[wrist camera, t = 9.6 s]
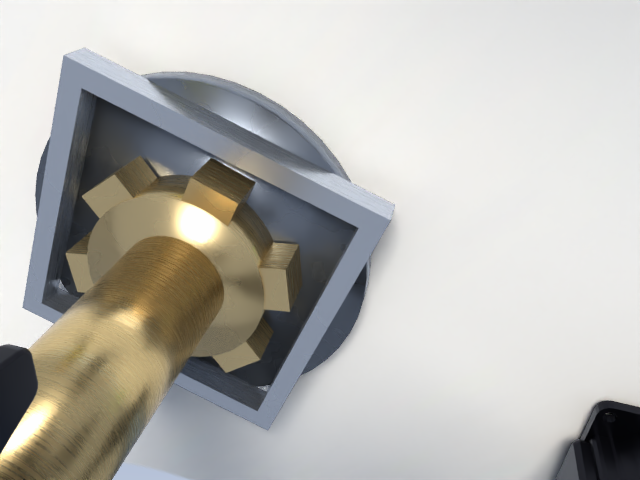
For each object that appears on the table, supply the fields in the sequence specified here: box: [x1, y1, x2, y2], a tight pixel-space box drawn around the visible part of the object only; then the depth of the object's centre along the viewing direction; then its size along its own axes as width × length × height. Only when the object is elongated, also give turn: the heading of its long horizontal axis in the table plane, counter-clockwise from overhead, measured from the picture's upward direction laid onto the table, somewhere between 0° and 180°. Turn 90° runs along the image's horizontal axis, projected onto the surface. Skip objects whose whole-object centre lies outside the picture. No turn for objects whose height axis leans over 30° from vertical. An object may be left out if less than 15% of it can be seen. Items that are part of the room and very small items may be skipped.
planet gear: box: [0, 156, 303, 480], centre depth 18 cm, size 9×8×12 cm
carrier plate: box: [23, 48, 395, 430], centre depth 23 cm, size 14×14×4 cm
